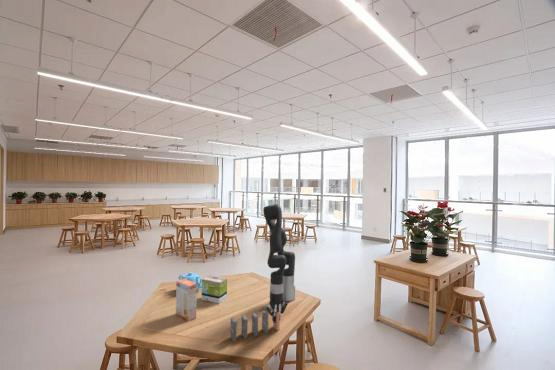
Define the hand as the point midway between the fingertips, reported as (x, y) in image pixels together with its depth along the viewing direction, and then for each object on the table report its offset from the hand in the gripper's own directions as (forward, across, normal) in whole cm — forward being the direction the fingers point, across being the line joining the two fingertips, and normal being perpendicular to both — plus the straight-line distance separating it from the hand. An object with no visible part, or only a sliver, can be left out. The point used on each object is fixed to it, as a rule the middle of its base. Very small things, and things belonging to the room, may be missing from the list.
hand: (276, 321), depth 150 cm
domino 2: (+4, +19, 0) cm, 19 cm away
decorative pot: (+4, +36, -77) cm, 85 cm away
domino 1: (+4, +25, 0) cm, 25 cm away
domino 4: (+4, +7, 0) cm, 8 cm away
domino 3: (+4, +13, 0) cm, 13 cm away
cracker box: (+4, +44, -36) cm, 57 cm away
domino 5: (+4, 0, 0) cm, 4 cm away
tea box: (+4, +23, -53) cm, 58 cm away
